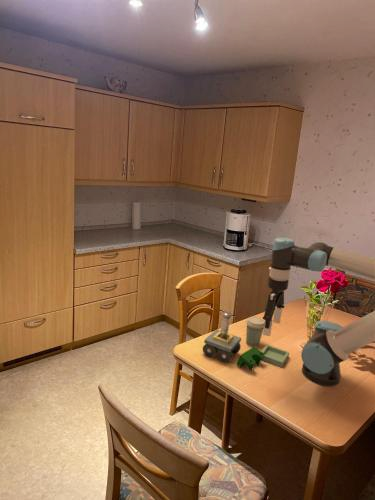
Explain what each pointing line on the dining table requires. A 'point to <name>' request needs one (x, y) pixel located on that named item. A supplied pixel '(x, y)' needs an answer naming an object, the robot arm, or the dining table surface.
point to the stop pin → (225, 324)
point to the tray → (275, 355)
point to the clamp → (250, 358)
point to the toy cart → (221, 346)
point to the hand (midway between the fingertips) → (271, 328)
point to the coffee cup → (254, 331)
